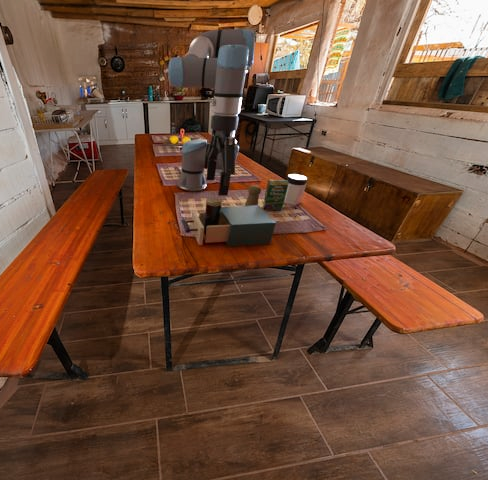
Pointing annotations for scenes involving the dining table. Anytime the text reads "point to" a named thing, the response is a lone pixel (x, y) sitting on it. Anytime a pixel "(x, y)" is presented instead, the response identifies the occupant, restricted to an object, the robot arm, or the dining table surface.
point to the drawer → (207, 229)
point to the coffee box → (275, 194)
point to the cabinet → (248, 225)
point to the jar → (295, 189)
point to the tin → (212, 212)
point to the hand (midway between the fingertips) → (216, 187)
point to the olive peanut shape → (253, 195)
